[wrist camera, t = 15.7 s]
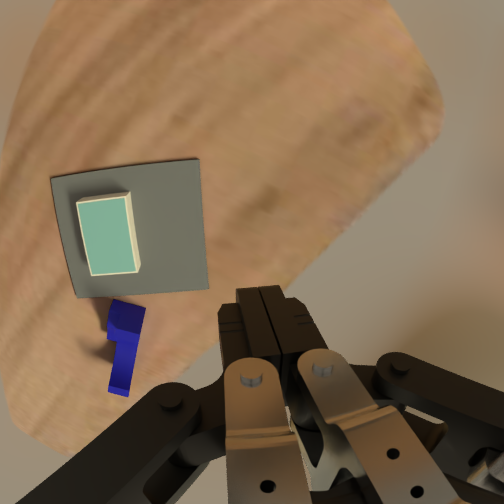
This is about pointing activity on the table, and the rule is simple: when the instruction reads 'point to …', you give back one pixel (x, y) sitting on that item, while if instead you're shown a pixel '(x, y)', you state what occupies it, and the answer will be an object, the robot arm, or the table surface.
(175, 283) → the mat
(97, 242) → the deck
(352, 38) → the table surface
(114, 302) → the blue u-shaped bracket
